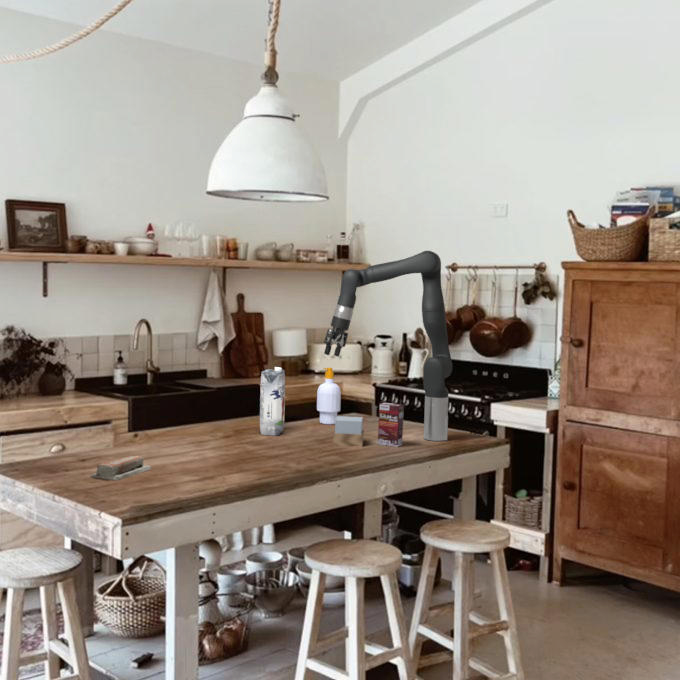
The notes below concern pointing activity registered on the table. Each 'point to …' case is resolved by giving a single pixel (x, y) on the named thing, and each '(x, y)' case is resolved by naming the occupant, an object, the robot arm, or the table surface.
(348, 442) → the walnut block
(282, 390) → the juice carton
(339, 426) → the pale gray block
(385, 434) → the supplement box
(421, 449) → the table surface
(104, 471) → the packaged product
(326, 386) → the soap bottle
